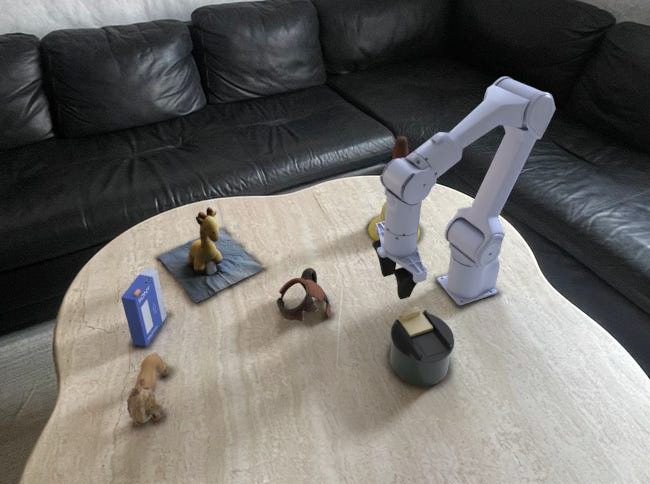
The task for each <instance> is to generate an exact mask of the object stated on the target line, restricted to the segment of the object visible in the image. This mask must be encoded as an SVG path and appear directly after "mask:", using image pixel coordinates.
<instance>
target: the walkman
mask: <svg viewBox="0 0 650 484" xmlns="http://www.w3.org/2000/svg"><path fill="white" fill-rule="evenodd" d="M159 275H160V274H159V271H158V270H157V269H152V268H151V267H143V269H142V270H141V271H140V273H139V274H138V276H136V278H135V279H134V280H133V281H132V282H131V284H130V285H129V287H128V288H127V289H126V290H125V291H124V293H123V294H122V296H121V297H120V299H121V302H122V307H123V310H124V313H125V318H126V322H127V326H128V329H129V333H130V338H131V340H132V344H133V345H135V346H136V345H137V346H140V347H146V348H147V347H148V345H149V344H150V342H151V341H152V340H153V338H154V336H155V335H156V333H157V332H158V330H159V329H160V327H161V326H162V325H163V323H164V321H165V320H166V318H167V316H168V314H167V309H166V305H165V301H164V295H163V291H162V285H161V282H160V276H159Z"/></svg>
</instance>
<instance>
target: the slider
mask: <svg viewBox="0 0 650 484" xmlns="http://www.w3.org/2000/svg"><path fill="white" fill-rule="evenodd" d="M422 312H423V311H421V309H419V307H418V306H413V307H410V308H407V309H404V310H402V311H401V314H400V315H399V316H398V315H397V317H396V319H398V320H399V322H400V323H401V325H402V326H403V328H404V329H405V330H406V332H407V333H408V335H409V336H410V337H413V336H416V335H419V334H422V333H425V332H427V331H430V330H433V326H432V325H431V324H430V322H429V321H428V320H427V318H426V317H425V316H424V314H423V313H422Z"/></svg>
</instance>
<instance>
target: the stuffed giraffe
mask: <svg viewBox="0 0 650 484" xmlns="http://www.w3.org/2000/svg"><path fill="white" fill-rule="evenodd" d="M205 212H206V213H205ZM205 212H203V211H199V212H198V214H197V216H195V221H196V222H197V224H198V225H199V237H198V238H196V239H192V240H190V241H188V242H186V243H184V244H182V245H179V246H177V247H175V249H173V250H169V251H167V252H165V253H164V254H161V255H158V256H157V257H158V259H159V260H160V261H161V262H162V263H163V264H164V266H165V267H166V268H167V269H168V270H169V271H170V272H171V274H172V275H173V276H174V277H175V278H176V280H177V281H178V282H179V284H180V285H181V286H182V287H183V289H184V290H185V292H186V293H187V294H188V296H189V297H190V298H191V300H192V301H193V303H194V304H198V303H200V302H201V301H204V300H207V299H208V298H210V297H212V296H214V295H215V293H216V292H220V291H222V290H224V289H226V288H229V287H230V286H231V285H232V284H236V283H239V282H240V281H242V280H244V279H246V278H248V277H251V276H253V275H255V274H258V273H259V272H261V271H262V270H263V269H264V267H263V266H262V264H260V263H257V261H255V260H254V258H253V257H252V256H251V255H250V254H249V253H248V252H247V250H245V248H243V247H242V246H241V245H240V244H239V243H238V242H237V241H236V240H235V239H234V238H233V237H232V236H230V234H228V233H227V232H226V231H225V230H224V229H223V228H219V224H218V222H217V220H216V219H215V217H216V215H217V210H213V208H212V207H211V206H207V208H206V210H205Z"/></svg>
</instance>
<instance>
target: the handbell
mask: <svg viewBox="0 0 650 484" xmlns="http://www.w3.org/2000/svg"><path fill="white" fill-rule="evenodd" d="M409 151H410V150H409V141H408V138H407V137H406V136H404V135H399V136H397V137H396V138H395V143H394V145H393V149H392V157H391V158H392V159H391V161H392V160H394V159H397V158H399V159H401V158H406V157H407V156H408V155H409V154H410V153H409ZM385 212H386V201H385V202H384V203H383V204H382V206H381V211H380V215H379V216H376V217H375V218H374V219H372V220H371V222H370V223H369V225H368V228H367V229H368V234H369V236H370V237H371V239H373V241H377V240H379V235H377V234H376V233H375V224H376V223H380V222H384V221H385ZM420 237H421V229H420V228H419V229H418V238H417V241H418V240H419V239H420Z"/></svg>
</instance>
